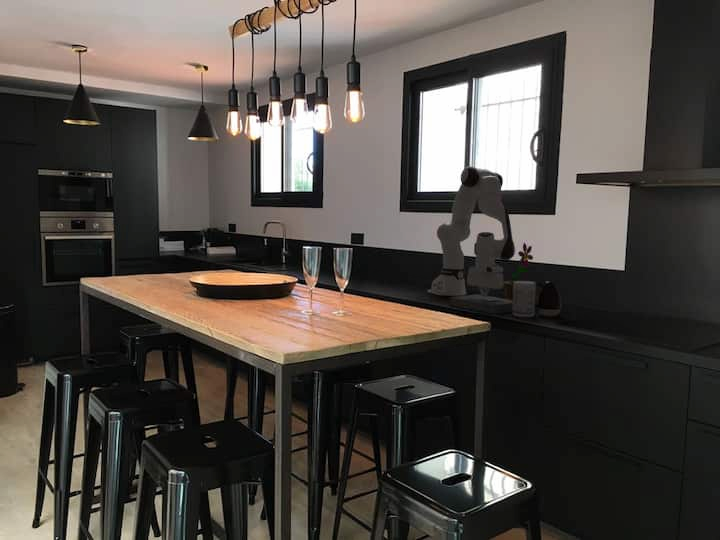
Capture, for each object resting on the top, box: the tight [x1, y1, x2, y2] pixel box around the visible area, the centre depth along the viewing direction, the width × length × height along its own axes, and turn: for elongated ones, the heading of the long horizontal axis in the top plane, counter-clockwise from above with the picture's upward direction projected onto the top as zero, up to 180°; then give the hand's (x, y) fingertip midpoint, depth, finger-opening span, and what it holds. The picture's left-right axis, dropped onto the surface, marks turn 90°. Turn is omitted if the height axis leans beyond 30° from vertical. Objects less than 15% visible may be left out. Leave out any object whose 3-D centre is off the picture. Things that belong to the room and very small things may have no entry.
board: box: [449, 294, 513, 315], centre depth 275 cm, size 28×18×4 cm, turn 33°
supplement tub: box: [511, 280, 537, 318], centre depth 255 cm, size 10×10×15 cm
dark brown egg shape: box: [536, 280, 562, 318], centre depth 255 cm, size 10×10×15 cm
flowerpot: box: [502, 242, 534, 300], centre depth 287 cm, size 14×14×30 cm
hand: (484, 296), depth 275 cm, fingers closed
